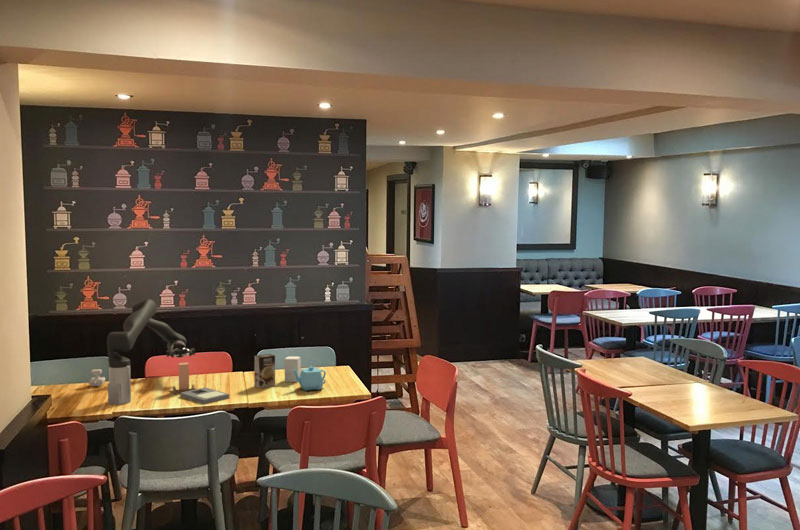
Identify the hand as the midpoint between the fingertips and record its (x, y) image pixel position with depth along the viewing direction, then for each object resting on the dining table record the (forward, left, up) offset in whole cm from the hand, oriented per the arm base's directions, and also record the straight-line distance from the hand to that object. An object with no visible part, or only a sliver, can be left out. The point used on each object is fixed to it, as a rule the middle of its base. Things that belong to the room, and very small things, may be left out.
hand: (181, 355), depth 335 cm
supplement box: (+27, -50, -16) cm, 59 cm away
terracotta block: (-9, -7, -16) cm, 20 cm away
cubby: (-9, -7, -16) cm, 20 cm away
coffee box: (+12, -41, -16) cm, 46 cm away
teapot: (+13, -65, -16) cm, 68 cm away
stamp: (-12, +42, -16) cm, 47 cm away
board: (-17, -23, -16) cm, 33 cm away
